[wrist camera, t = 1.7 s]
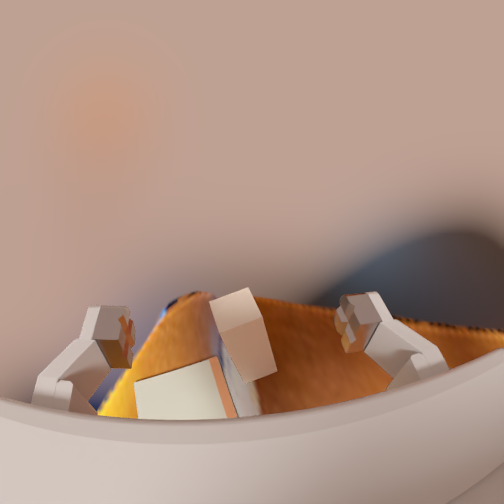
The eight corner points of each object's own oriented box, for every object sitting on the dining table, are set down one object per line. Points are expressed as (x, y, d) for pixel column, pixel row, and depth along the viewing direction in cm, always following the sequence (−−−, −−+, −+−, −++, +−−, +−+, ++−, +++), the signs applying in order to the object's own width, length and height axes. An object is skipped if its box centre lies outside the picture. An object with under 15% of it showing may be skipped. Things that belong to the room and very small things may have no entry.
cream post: (265, 345, 40) (248, 286, 32) (277, 371, 36) (262, 316, 29) (234, 357, 39) (208, 301, 31) (244, 383, 36) (218, 333, 28)
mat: (218, 358, 39) (216, 355, 39) (261, 477, 25) (260, 477, 25) (135, 384, 38) (133, 382, 37) (157, 501, 24) (154, 501, 23)
